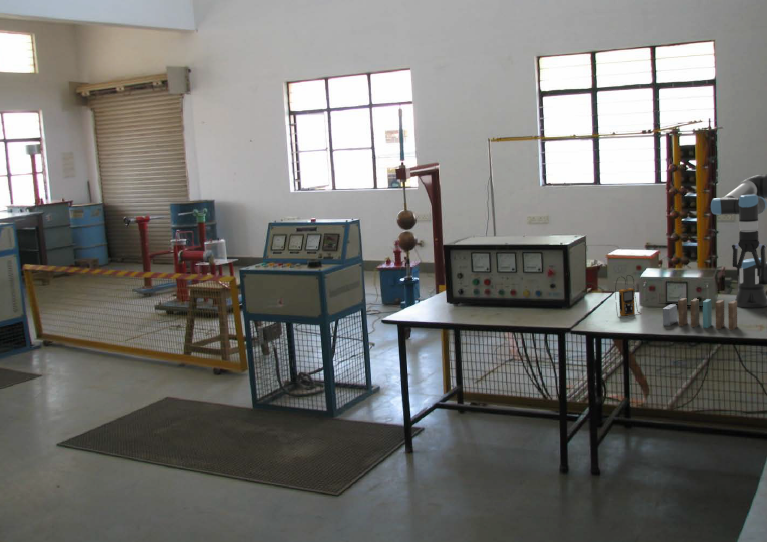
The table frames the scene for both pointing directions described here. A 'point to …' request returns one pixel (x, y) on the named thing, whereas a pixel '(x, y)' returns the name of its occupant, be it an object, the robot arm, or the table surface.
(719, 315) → the tile
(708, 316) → the tile
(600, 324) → the table surface
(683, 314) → the tile
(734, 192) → the robot arm
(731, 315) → the tile
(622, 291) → the multimeter
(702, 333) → the table surface
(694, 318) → the tile
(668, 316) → the bar
